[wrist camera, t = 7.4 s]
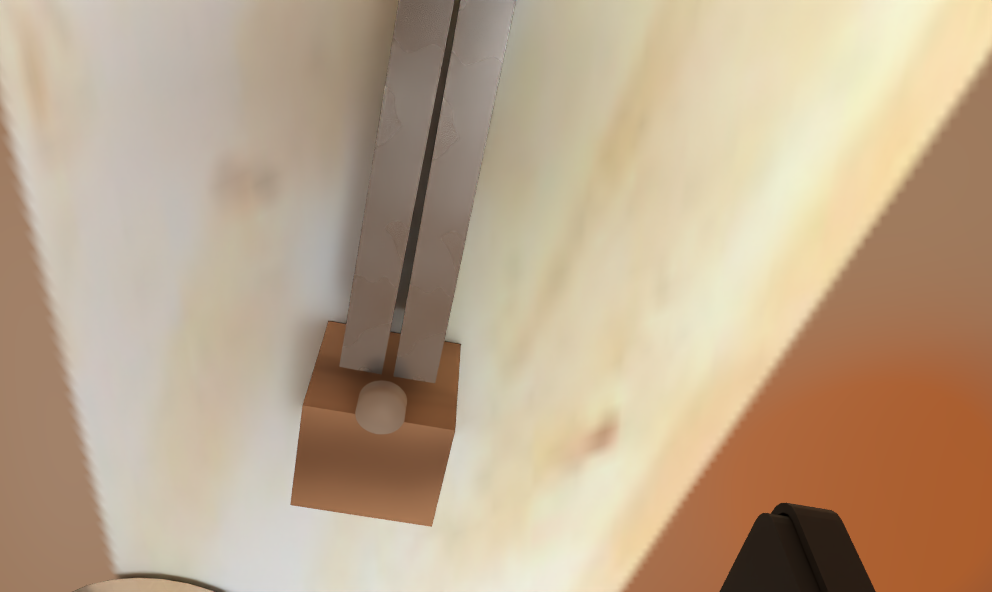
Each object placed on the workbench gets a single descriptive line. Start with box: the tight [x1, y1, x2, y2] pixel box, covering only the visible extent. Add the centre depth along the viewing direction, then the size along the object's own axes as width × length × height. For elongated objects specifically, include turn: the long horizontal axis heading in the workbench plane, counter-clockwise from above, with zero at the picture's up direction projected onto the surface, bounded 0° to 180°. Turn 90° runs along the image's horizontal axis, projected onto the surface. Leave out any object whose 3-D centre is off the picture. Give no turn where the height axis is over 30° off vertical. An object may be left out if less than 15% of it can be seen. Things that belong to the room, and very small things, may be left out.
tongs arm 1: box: [393, 0, 516, 383], centre depth 25 cm, size 20×1×3 cm, turn 168°
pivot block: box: [290, 321, 461, 527], centre depth 31 cm, size 6×5×5 cm
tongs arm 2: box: [339, 0, 455, 374], centre depth 25 cm, size 20×1×3 cm, turn 167°
